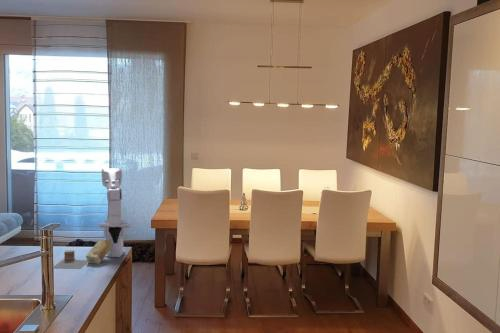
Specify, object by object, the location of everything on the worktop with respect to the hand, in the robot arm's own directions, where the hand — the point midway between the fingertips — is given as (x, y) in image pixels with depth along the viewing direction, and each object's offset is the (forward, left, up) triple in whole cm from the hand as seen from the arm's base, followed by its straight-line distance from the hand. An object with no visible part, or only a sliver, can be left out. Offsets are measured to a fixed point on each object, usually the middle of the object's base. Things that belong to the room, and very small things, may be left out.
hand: (115, 242), depth 223 cm
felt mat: (+2, -21, -10) cm, 23 cm away
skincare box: (+1, -11, -8) cm, 14 cm away
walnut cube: (-5, -24, -10) cm, 26 cm away
